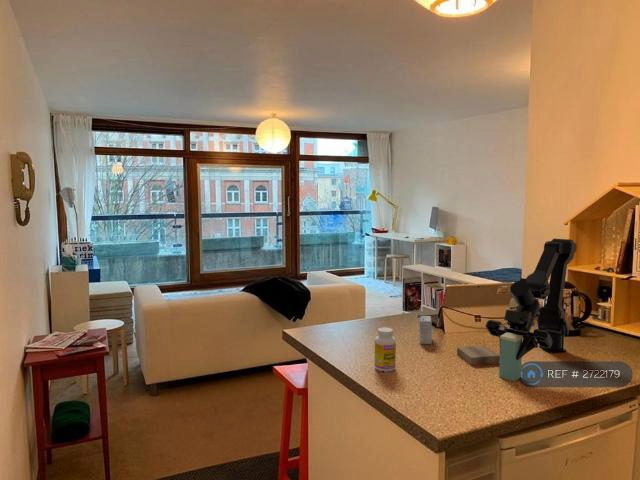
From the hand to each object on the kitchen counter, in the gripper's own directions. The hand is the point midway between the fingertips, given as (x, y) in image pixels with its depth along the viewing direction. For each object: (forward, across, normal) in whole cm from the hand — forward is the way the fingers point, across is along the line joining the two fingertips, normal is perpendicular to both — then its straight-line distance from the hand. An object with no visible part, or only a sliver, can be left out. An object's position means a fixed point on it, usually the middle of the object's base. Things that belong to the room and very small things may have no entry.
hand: (508, 357), depth 140 cm
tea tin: (+4, 0, +6) cm, 7 cm away
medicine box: (-4, -37, +13) cm, 40 cm away
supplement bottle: (+19, -31, -9) cm, 38 cm away
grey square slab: (-1, -14, +11) cm, 18 cm away
